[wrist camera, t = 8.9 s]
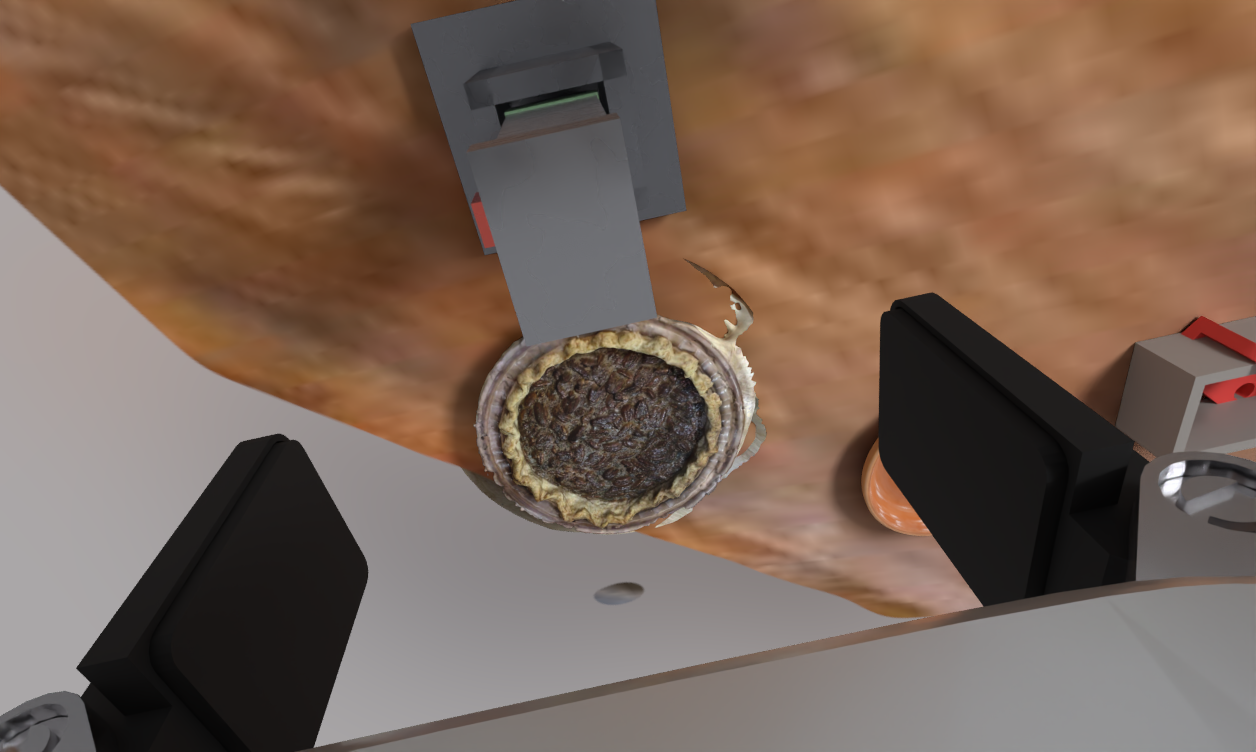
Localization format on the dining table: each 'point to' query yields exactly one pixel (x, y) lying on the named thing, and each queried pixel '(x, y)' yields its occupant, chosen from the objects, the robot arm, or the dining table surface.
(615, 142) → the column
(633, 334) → the pie
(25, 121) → the dining table surface
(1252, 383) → the bracket
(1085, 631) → the robot arm
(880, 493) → the saucer
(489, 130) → the stand
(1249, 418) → the bracket rest
